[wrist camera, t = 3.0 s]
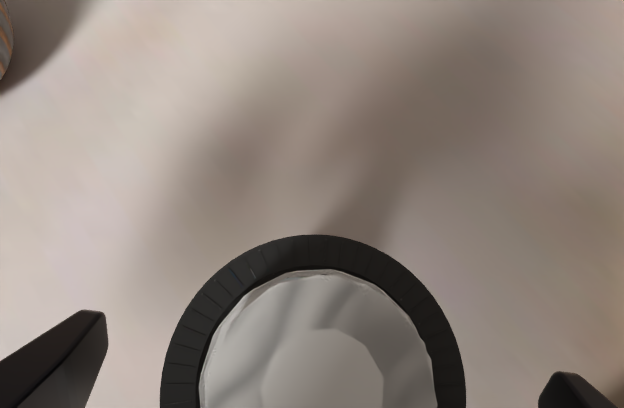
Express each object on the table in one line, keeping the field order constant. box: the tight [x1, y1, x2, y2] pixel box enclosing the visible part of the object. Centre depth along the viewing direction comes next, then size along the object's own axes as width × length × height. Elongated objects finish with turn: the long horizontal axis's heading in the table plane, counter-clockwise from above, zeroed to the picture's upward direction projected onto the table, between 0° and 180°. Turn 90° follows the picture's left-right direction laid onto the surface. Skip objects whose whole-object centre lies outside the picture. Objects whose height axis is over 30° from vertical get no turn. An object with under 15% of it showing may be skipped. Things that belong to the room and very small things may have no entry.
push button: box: [160, 235, 466, 408], centre depth 12 cm, size 7×5×10 cm
